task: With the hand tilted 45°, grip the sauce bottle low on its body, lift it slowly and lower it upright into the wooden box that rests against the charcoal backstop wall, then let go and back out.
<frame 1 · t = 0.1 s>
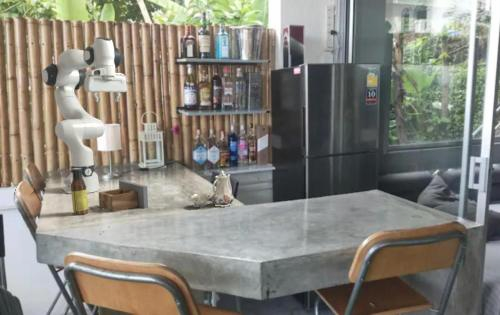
hand: (107, 101, 206), 48 cm above the bar counter, tool pointing down, fingers open, 8 cm apart
sauce bottle: (80, 213, 187), on the bar counter
wooden box: (118, 199, 198), point 4 cm above the bar counter, slide at 0.0 cm
backstop wall: (133, 204, 203), on the bar counter
chinaware: (217, 204, 203), on the bar counter
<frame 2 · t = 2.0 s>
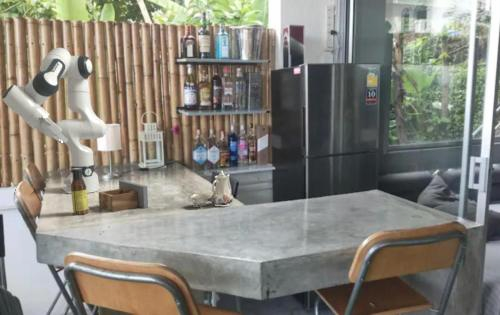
hand: (64, 141, 185), 31 cm above the bar counter, tool tilted 45°, fingers open, 8 cm apart
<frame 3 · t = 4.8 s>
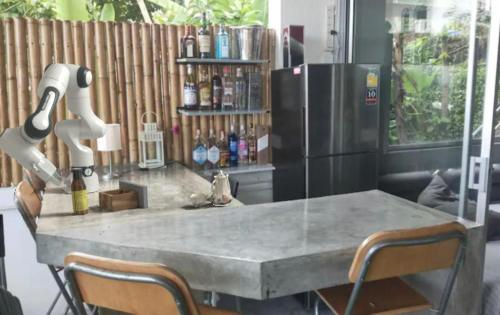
hand: (60, 182, 183), 14 cm above the bar counter, tool tilted 45°, fingers open, 8 cm apart
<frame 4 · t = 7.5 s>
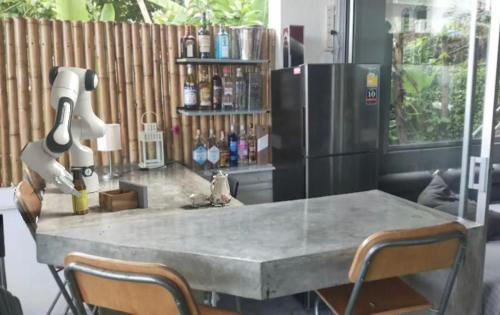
hand: (81, 194, 186), 8 cm above the bar counter, tool tilted 45°, fingers closed on sauce bottle, 6 cm apart
sauce bottle: (80, 213, 187), on the bar counter, touching gripper
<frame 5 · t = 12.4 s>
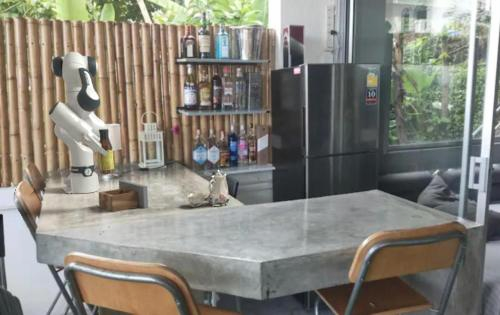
hand: (107, 154, 192), 25 cm above the bar counter, tool tilted 45°, fingers closed on sauce bottle, 6 cm apart
sauce bottle: (106, 173, 193), point 16 cm above the bar counter, touching gripper
when the fingers open (11 cm above the bar counter, at t = 17.3 s): sauce bottle drops 2 cm, resting on wooden box.
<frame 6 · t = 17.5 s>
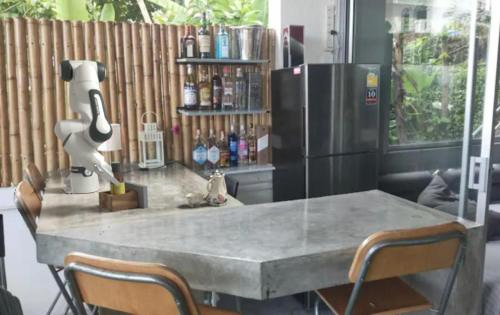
hand: (118, 182, 197), 11 cm above the bar counter, tool tilted 45°, fingers open, 8 cm apart
sauce bottle: (118, 205, 198), point 1 cm above the bar counter, touching wooden box
wooden box: (118, 199, 197), point 4 cm above the bar counter, slide at 0.0 cm, touching sauce bottle
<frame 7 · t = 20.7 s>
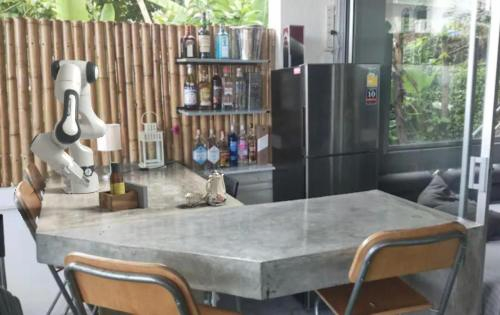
hand: (88, 184, 193), 11 cm above the bar counter, tool tilted 45°, fingers open, 8 cm apart
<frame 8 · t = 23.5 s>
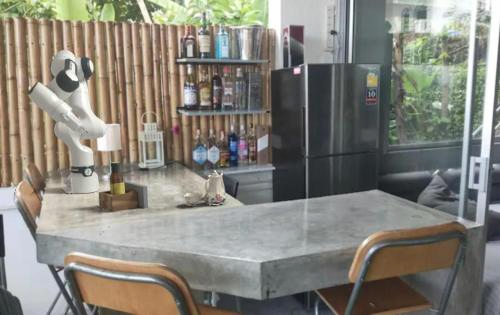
hand: (87, 134, 194), 33 cm above the bar counter, tool tilted 45°, fingers open, 8 cm apart
at the end: sauce bottle 0.3 cm off-centre on the wooden box, point 0.8 cm above the wooden box's base; sauce bottle tilted 0°; wooden box slide at 0.0 cm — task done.
